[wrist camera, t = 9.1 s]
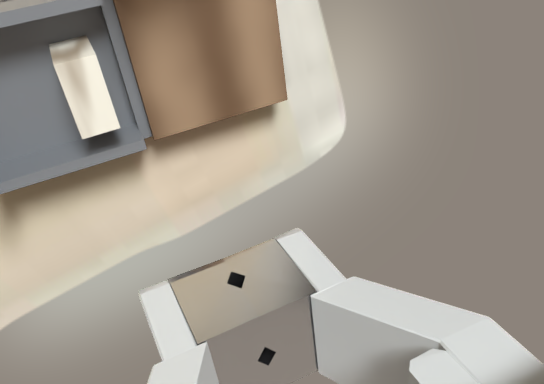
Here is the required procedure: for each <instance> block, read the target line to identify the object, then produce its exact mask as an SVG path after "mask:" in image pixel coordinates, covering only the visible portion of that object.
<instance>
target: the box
mask: <svg viewBox="0 0 544 384" xmlns="http://www.w3.org/2000/svg"><path fill="white" fill-rule="evenodd" d="M85 35H86V36H87V38H88V40H89V42H90V44H91V46H92V48H93V50H94V52H95V54H96V56H97V59H98V62H99V65H100V68H101V71H102V74H103V77H104V80H105V83H106V86H107V89H108V92H109V95H110V98H111V101H112V104H113V107H114V110H115V113H116V116H117V119H118V122H119V125H120V128H119V129H116V130H112V131H109V132H106V133H102V134H99V135H96V136H92V137H89V138H85V139H82V137H81V135H80V132H79V130H78V127H77V124H76V122H75V119H74V117H73V114H72V112H71V109H70V106H69V104H68V101H67V99H66V96H65V94H64V91H63V88H62V86H61V83H60V81H59V78H58V75H57V73H56V70H55V68H54V65H53V61H52V57H51V52H50V48H49V44H52V43H56V42H60V41H65V40H69V39H73V38H77V37H81V36H85ZM151 136H152V134H151V130H150V127H149V123H148V120H147V116H146V113H145V110H144V106H143V103H142V99H141V96H140V93H139V89H138V86H137V82H136V79H135V75H134V72H133V69H132V65H131V62H130V58H129V55H128V51H127V48H126V45H125V41H124V38H123V34H122V31H121V28H120V24H119V21H118V17H117V14H116V10H115V7H114V4H113V0H1V1H0V194H3V193H6V192H9V191H13V190H16V189H19V188H22V187H26V186H29V185H32V184H35V183H39V182H42V181H45V180H48V179H52V178H55V177H58V176H61V175H64V174H68V173H71V172H74V171H77V170H81V169H84V168H87V167H90V166H94V165H97V164H100V163H103V162H107V161H110V160H113V159H116V158H119V157H123V156H126V155H129V154H132V153H136V152H139V151H142V150H145V149H147V148H146V144H145V141H144V139H145V138H148V137H151Z"/></svg>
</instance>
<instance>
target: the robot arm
mask: <svg viewBox="0 0 544 384" xmlns="http://www.w3.org/2000/svg"><path fill="white" fill-rule="evenodd" d="M138 293H139V298H140V301H141V304H142V306H143V309H144V312H145V315H146V318H147V320H148V323H149V326H150V329H151V332H152V334H153V337H154V340H155V343H156V346H157V348H158V351H159V354H160V357H161V360H162V362H160V363H158V364H155V365H153V368H152V370H151V373H150V376H149V378H148V382H147V384H290V383H292V382H294V381H296V380H298V379H301V378H303V377H305V376H307V375H309V374H311V373H314V372H316V371H319V373H320V374H322V375H323V376H325V377H327V378H329V379H331V380H333V381H335V382H336V383H338V384H544V364H542V363H541V362H540V361H539V360H538V359H537V358H536V357H535V356H533V355H532V354H531V353H530V352H529V351H528V350H526V349H525V348H524V347H523V346H522V345H521V344H520V343H518V342H517V341H516V340H515V339H514V338H513V337H512V336H510V335H509V334H508V333H507V332H506V331H505V330H504V329H502V328H501V327H500V326H499V325H498V324H497V323H496V322H494V321H493V320H492V319H491V318H490V317H487V316H484V315H481V314H477V313H474V312H470V311H467V310H464V309H461V308H457V307H454V306H451V305H447V304H444V303H441V302H437V301H434V300H431V299H428V298H424V297H421V296H418V295H414V294H411V293H408V292H404V291H401V290H398V289H394V288H391V287H388V286H385V285H381V284H378V283H374V282H371V281H368V280H365V279H361V278H358V277H355V276H354V277H351V278H349V279H346V278H345V277H344V276H343V275H342V274H341V273H340V271H339V270H338V269H337V268H336V267H335V266H334V265H333V264H332V263H331V262H330V261H329V260H328V258H327V257H326V256H325V255H324V254H323V253H322V252H321V251H320V250H319V248H318V247H317V246H316V245H315V244H314V243H313V242H312V241H311V240H310V239H309V237H308V236H307V235H306V234H305V233H304V232H303V231H302V230H301V229H298V228H295V229H293V230H290V231H288V232H286V233H283V234H281V235H278V236H276V237H274V238H272V239H271V240H268V241H265V242H263V243H260V244H258V245H255V246H253V247H250V248H248V249H245V250H243V251H240V252H238V253H235V254H233V255H231V256H228V257H226V258H223V259H221V260H218V261H215V262H213V263H210V264H207V265H204V266H202V267H199V268H196V269H194V270H191V271H188V272H185V273H183V274H180V275H177V276H175V277H172V278H169V279H168V281H167V280H165V281H163V282H160V283H157V284H155V285H152V286H149V287H147V288H144V289H141V290H139V291H138Z"/></svg>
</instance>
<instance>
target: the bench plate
mask: <svg viewBox="0 0 544 384" xmlns="http://www.w3.org/2000/svg"><path fill="white" fill-rule="evenodd" d="M113 4H114V7H115V10H116V14H117V17H118V21H119V24H120V28H121V31H122V34H123V38H124V41H125V45H126V48H127V51H128V55H129V58H130V62H131V65H132V69H133V72H134V75H135V79H136V82H137V86H138V89H139V93H140V96H141V99H142V103H143V106H144V110H145V113H146V116H147V120H148V123H149V127H150V130H151V134H152V137H153V138H154V140H157V139H161V138H164V137H167V136H170V135H174V134H177V133H180V132H183V131H187V130H190V129H193V128H197V127H200V126H203V125H206V124H210V123H213V122H216V121H219V120H223V119H226V118H229V117H233V116H236V115H239V114H242V113H246V112H249V111H252V110H255V109H259V108H262V107H265V106H269V105H272V104H275V103H278V102H282V101H285V100H287V92H286V83H285V75H284V66H283V58H282V50H281V41H280V33H279V24H278V16H277V8H276V0H113Z"/></svg>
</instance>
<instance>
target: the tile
mask: <svg viewBox="0 0 544 384" xmlns="http://www.w3.org/2000/svg"><path fill="white" fill-rule="evenodd" d="M49 48H50V52H51V57H52V61H53V65H54V68H55V70H56V73H57V75H58V78H59V81H60V83H61V86H62V88H63V91H64V94H65V96H66V99H67V101H68V104H69V106H70V109H71V112H72V114H73V117H74V119H75V122H76V124H77V127H78V130H79V132H80V135H81V137H82V139H85V138H89V137H92V136H96V135H99V134H102V133H106V132H109V131H112V130H116V129H119V128H120V125H119V122H118V119H117V116H116V113H115V110H114V107H113V104H112V101H111V98H110V95H109V92H108V89H107V86H106V83H105V80H104V77H103V74H102V71H101V68H100V65H99V62H98V59H97V56H96V54H95V52H94V50H93V48H92V46H91V44H90V42H89V40H88V38H87V36H86V35H85V36H81V37H77V38H73V39H69V40H65V41H60V42H56V43H52V44H49Z"/></svg>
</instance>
